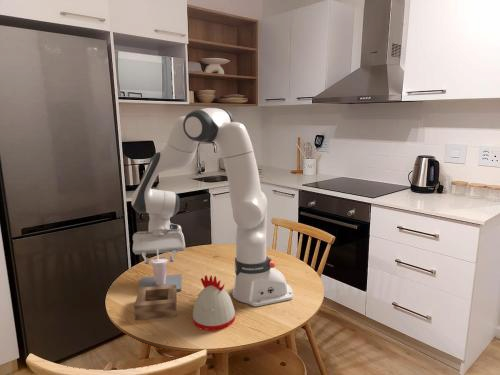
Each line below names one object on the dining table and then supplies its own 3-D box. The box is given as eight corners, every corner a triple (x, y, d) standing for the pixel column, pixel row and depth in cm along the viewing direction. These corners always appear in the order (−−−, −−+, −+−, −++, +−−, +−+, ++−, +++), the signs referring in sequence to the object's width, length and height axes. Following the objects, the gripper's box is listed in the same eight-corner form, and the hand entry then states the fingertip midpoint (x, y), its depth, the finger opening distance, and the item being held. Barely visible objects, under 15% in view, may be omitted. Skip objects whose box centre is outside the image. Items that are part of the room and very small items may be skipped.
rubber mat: (181, 276, 152) (181, 274, 152) (181, 291, 139) (180, 288, 139) (141, 279, 149) (141, 277, 149) (137, 294, 137) (137, 292, 136)
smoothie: (151, 281, 146) (149, 247, 143) (167, 278, 148) (166, 245, 145) (153, 288, 140) (151, 253, 137) (170, 285, 142) (168, 251, 139)
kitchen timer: (205, 304, 130) (204, 265, 127) (241, 312, 125) (240, 270, 122) (184, 325, 117) (182, 282, 114) (223, 334, 112) (222, 289, 109)
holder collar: (176, 297, 135) (176, 284, 134) (175, 316, 122) (175, 302, 121) (140, 300, 133) (139, 287, 132) (135, 320, 120) (134, 306, 119)
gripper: (131, 228, 145) (130, 261, 137) (184, 225, 148) (185, 257, 141) (134, 235, 150) (132, 267, 143) (184, 232, 153) (185, 263, 146)
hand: (159, 262), depth 142 cm, fingers open, 8 cm apart
